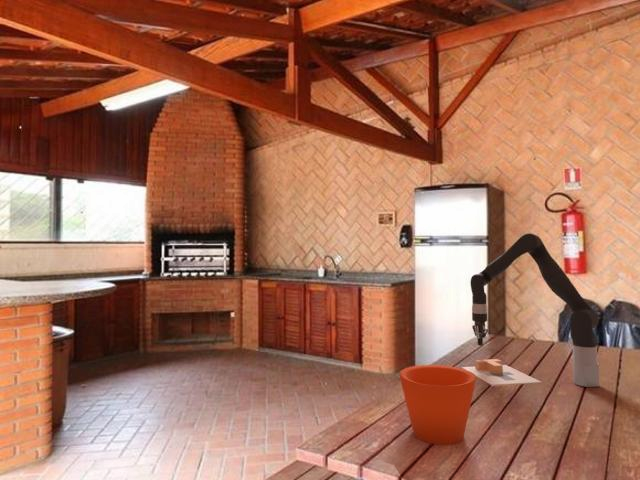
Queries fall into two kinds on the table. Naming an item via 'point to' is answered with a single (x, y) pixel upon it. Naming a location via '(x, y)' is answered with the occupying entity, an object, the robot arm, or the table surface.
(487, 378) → the board
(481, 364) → the t block
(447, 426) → the flowerpot
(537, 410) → the table surface
